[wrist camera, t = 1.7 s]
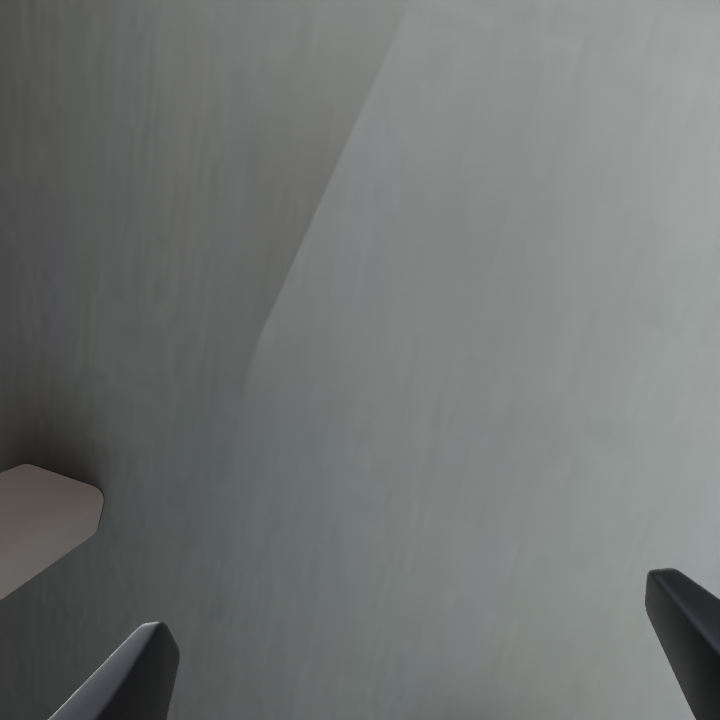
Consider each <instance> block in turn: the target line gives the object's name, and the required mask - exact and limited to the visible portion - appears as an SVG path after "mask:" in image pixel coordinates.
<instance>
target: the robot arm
mask: <svg viewBox="0 0 720 720" xmlns="http://www.w3.org/2000/svg"><path fill="white" fill-rule="evenodd" d="M645 606H646V611H647V614H648V616H649V619H650V621H651V623H652V625H653V628H654V630H655V632H656V634H657V636H658V638H659V641H660V643H661V645H662V647H663V649H664V652H665V654H666V656H667V658H668V660H669V663H670V665H671V667H672V669H673V671H674V674H675V676H676V678H677V680H678V682H679V684H680V687H681V689H682V691H683V693H684V695H685V698H686V700H687V702H688V704H689V706H690V708H691V710H692V712H693V714H694V716H695V718H696V720H720V599H718V598H717V597H715V596H714V595H713V594H711V593H710V592H708V591H707V590H705V589H704V588H703V587H701V586H700V585H698V584H697V583H696V582H694V581H693V580H691V579H690V578H688V577H687V576H686V575H684V574H683V573H681V572H680V571H678V570H676V569H673V568H665V569H655V570H650V571H649V573H648V575H647V583H646V595H645ZM179 657H180V653H179V648H178V645H177V643H176V641H175V640H174V638H173V636H172V634H171V632H170V630H169V628H168V626H167V625H166V624H165V623H164V622H152V623H145V624H143V625H141V626H140V627H139V628H137V629H136V630H135V631H134V633H133V634H132V635H131V636H130V637H129V638H128V639H127V640H126V641H125V642H124V643H123V644H122V645H121V646H120V647H119V648H118V649H117V650H116V651H115V652H114V653H113V654H112V655H111V656H110V657H109V658H108V659H107V660H106V661H105V662H104V663H103V664H102V665H101V666H100V667H99V668H98V669H97V671H96V672H95V673H94V674H93V675H92V676H91V677H90V678H89V679H88V680H87V681H86V682H85V683H84V684H83V685H82V686H81V687H80V688H79V689H78V690H77V691H76V692H75V693H74V694H73V695H72V696H71V697H70V698H69V699H68V700H67V701H66V702H65V703H64V704H63V705H62V706H61V707H60V709H59V710H58V711H57V712H56V713H55V714H54V715H53V716H52V717H51V718H50V719H49V720H166V719H167V714H168V710H169V705H170V701H171V696H172V692H173V687H174V683H175V678H176V673H177V669H178V664H179Z"/></svg>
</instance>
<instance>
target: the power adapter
mask: <svg viewBox="0 0 720 720" xmlns="http://www.w3.org/2000/svg"><path fill="white" fill-rule="evenodd" d="M103 504H104V497H103V494H102V492H101V491H100V490H99V489H98V488H96V487H94V486H92V485H89V484H86V483H83V482H80V481H77V480H75V479H72V478H69V477H66V476H63V475H60V474H57V473H54V472H51V471H49V470H46V469H43V468H40V467H37V466H34V465H31V464H22V465H20V466H17V467H14V468H12V469H9V470H7V471H4V472H1V473H0V600H1V599H3V598H4V597H6V596H7V595H8V594H10V593H11V592H13V591H14V590H16V589H17V588H18V587H20V586H21V585H23V584H24V583H26V582H27V581H28V580H30V579H31V578H33V577H34V576H36V575H37V574H38V573H40V572H41V571H43V570H44V569H46V568H47V567H48V566H50V565H51V564H53V563H54V562H56V561H57V560H58V559H60V558H61V557H63V556H64V555H65V554H67V553H68V552H70V551H71V550H73V549H74V548H75V547H77V546H78V545H80V544H81V543H83V542H84V541H85V540H87V539H88V538H90V537H91V536H93V535H94V534H95V532H96V531H97V528H98V524H99V520H100V516H101V512H102V508H103Z"/></svg>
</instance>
